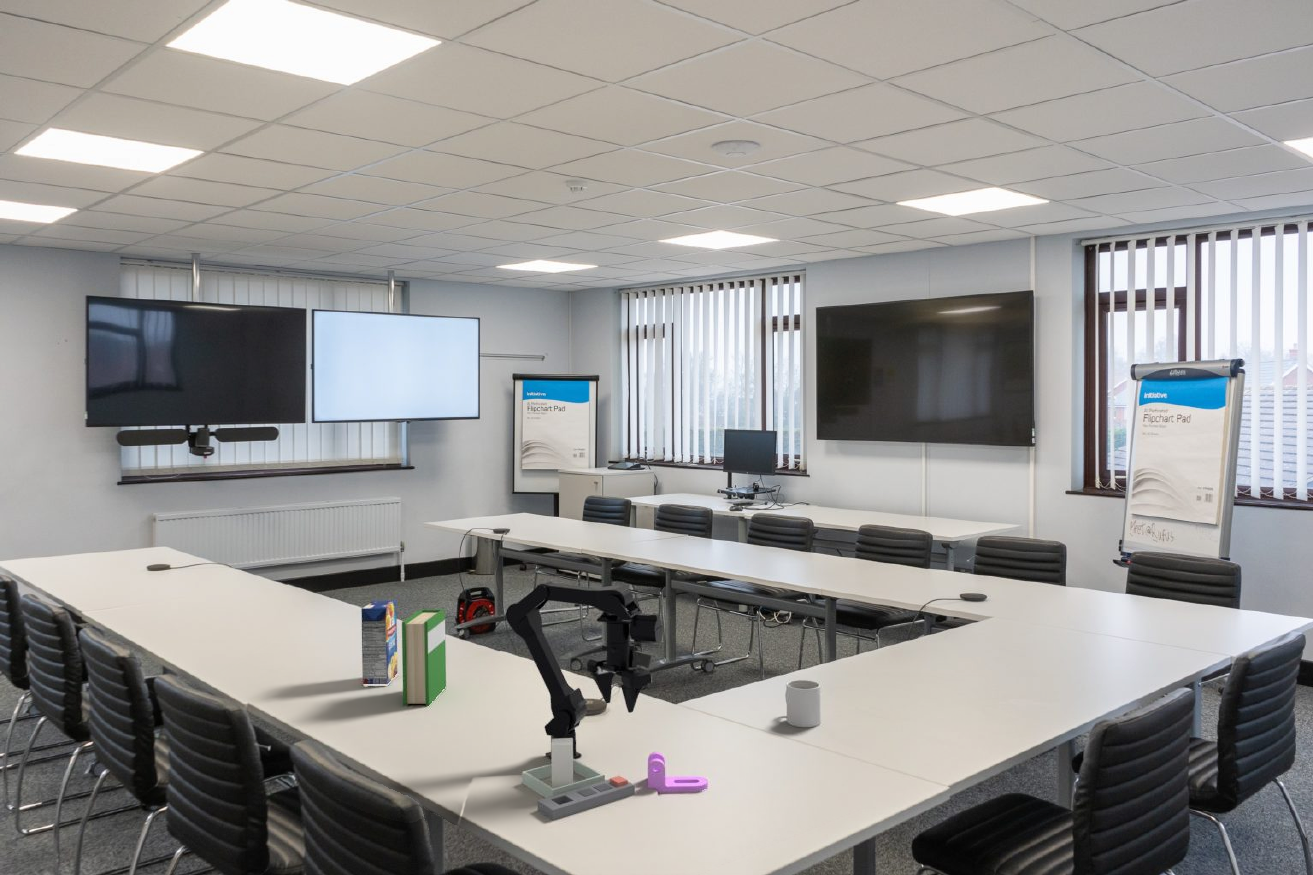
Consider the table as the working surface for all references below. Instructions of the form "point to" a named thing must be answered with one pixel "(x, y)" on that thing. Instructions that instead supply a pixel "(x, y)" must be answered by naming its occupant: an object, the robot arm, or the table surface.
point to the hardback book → (423, 656)
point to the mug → (803, 703)
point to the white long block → (562, 761)
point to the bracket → (671, 783)
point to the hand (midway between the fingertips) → (619, 707)
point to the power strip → (586, 797)
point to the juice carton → (379, 642)
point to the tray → (533, 781)
